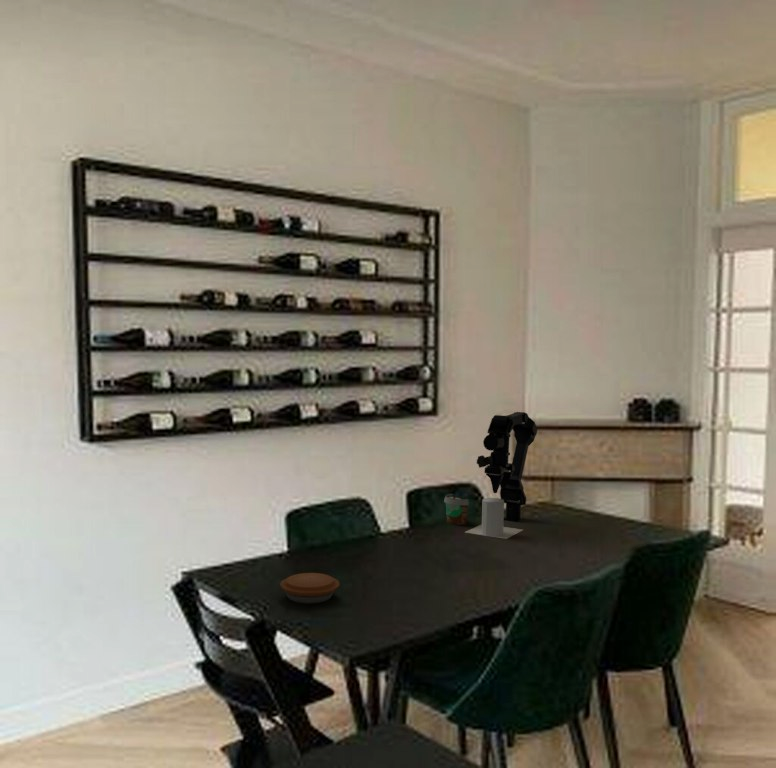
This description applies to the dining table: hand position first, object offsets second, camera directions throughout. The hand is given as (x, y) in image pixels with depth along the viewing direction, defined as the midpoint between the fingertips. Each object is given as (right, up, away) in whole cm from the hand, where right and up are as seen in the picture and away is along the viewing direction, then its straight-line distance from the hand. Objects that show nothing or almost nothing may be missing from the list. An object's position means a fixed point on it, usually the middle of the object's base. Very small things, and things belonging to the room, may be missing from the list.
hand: (498, 491), depth 284 cm
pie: (-61, -16, -81) cm, 103 cm away
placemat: (-3, -13, -7) cm, 15 cm away
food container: (-16, -13, +5) cm, 21 cm away
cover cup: (-4, -13, -11) cm, 18 cm away
